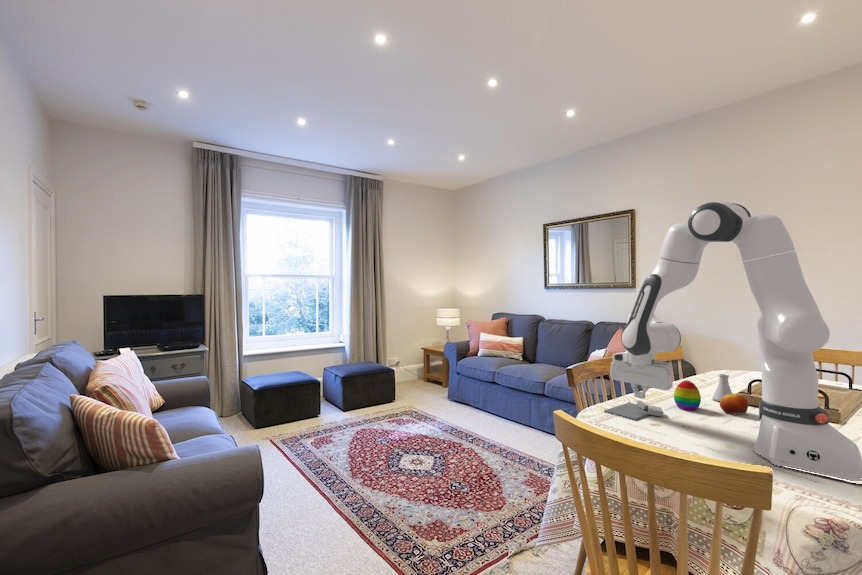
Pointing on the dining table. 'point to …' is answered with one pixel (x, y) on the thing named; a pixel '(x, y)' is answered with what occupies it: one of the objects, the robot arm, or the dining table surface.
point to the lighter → (651, 409)
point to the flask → (722, 387)
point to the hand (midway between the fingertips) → (639, 397)
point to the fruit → (734, 404)
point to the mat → (629, 411)
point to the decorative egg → (687, 396)
